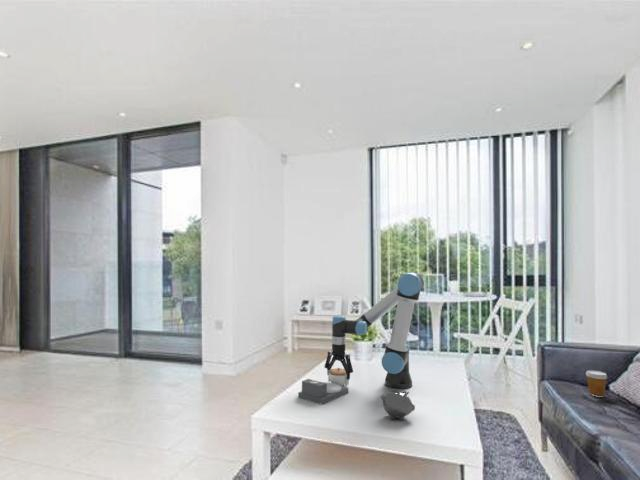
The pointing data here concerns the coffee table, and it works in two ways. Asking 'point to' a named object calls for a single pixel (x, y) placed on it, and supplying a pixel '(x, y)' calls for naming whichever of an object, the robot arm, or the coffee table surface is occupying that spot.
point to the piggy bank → (397, 404)
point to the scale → (321, 391)
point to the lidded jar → (337, 376)
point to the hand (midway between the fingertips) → (338, 383)
